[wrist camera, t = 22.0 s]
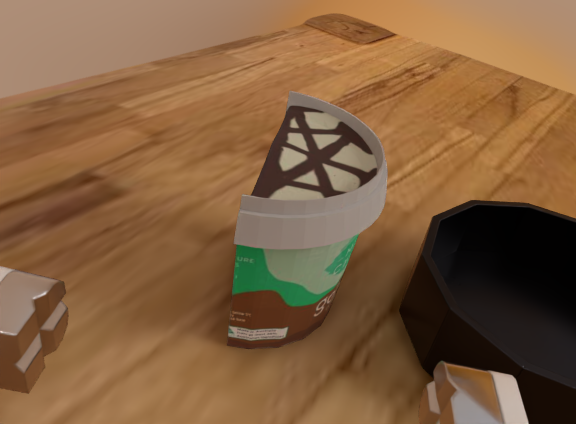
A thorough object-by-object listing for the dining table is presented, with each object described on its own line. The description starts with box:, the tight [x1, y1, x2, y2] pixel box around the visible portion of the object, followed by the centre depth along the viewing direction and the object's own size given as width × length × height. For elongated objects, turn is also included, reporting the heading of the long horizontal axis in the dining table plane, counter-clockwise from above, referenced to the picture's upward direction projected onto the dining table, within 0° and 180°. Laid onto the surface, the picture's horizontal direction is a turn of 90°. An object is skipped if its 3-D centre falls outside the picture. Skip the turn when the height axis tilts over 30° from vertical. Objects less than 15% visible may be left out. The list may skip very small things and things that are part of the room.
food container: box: [227, 91, 387, 349], centre depth 27 cm, size 12×6×10 cm, turn 170°
